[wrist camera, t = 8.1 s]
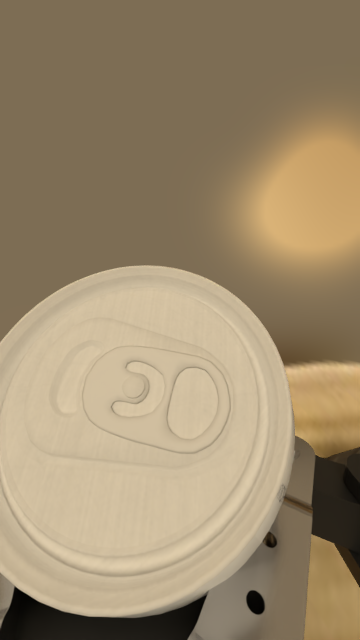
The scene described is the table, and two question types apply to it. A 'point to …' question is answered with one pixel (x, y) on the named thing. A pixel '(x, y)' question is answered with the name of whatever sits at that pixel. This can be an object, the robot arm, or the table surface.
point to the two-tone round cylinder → (138, 442)
